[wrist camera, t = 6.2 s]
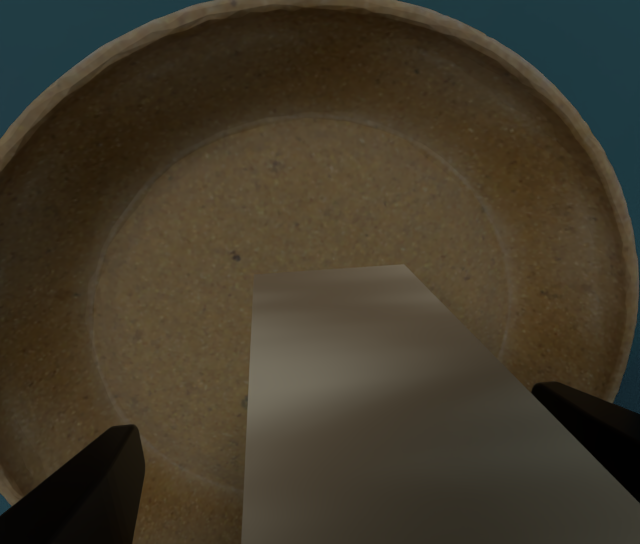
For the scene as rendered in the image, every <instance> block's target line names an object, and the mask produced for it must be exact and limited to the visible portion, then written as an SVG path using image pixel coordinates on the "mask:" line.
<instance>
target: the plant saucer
mask: <svg viewBox="0 0 640 544" xmlns="http://www.w3.org/2000/svg"><path fill="white" fill-rule="evenodd" d="M401 264H404V265H405V266H406V267H407V268H408V269H409V270H410V271H411V272H412V273H413V274H414V275H415V276H416V277H417V278H418V279H419V280H420V281H421V282H422V283H423V284H424V285H425V286H426V287H427V288H428V289H429V290H430V291H431V292H432V293H433V294H434V295H435V296H436V297H437V298H438V299H439V300H440V301H441V302H442V303H443V304H444V305H445V306H446V307H447V308H448V309H449V310H450V311H451V312H452V313H453V314H454V315H455V316H456V317H457V319H458V320H459V321H460V322H461V323H462V324H463V325H464V326H465V327H466V328H467V329H468V330H469V331H470V332H471V333H472V334H473V335H474V336H475V337H476V338H477V339H478V340H479V341H480V342H481V343H482V344H483V345H484V346H485V347H486V348H487V349H488V350H489V351H490V352H491V353H492V354H493V355H494V356H495V357H496V358H497V359H498V360H499V361H500V362H501V363H502V364H503V365H504V366H505V367H506V368H507V369H508V370H509V371H510V372H511V373H512V374H513V375H514V376H515V377H516V378H517V379H518V380H519V381H520V382H521V383H522V384H523V385H524V386H525V387H526V389H527V390H528V391H529V392H530V393H531V391H532V387H533V386H534V385H535V384H536V383H539V382H549V381H557V382H560V383H562V384H565V385H567V386H570V387H572V388H575V389H577V390H580V391H582V392H585V393H588V394H590V395H593V396H595V397H598V398H600V399H603V400H605V401H608V402H610V403H613V402H614V399H615V396H616V394H617V393H618V391H619V387H620V384H621V380H622V377H623V374H624V372H625V369H626V366H627V362H628V358H629V354H630V350H631V346H632V341H633V338H634V330H635V326H636V323H637V313H638V299H639V273H638V257H637V254H636V249H635V240H634V233H633V228H632V223H631V218H630V216H629V214H628V209H627V204H626V201H625V198H624V196H623V192H622V188H621V186H620V183H619V181H618V179H617V177H616V174H615V172H614V169H613V167H612V165H611V164H610V162H609V160H608V159H607V156H606V154H605V152H604V150H603V148H602V147H601V145H600V143H599V142H598V140H597V139H596V138H595V137H594V135H593V134H592V132H591V130H590V128H589V126H588V124H587V123H586V122H585V121H584V120H583V119H582V118H581V116H580V114H579V113H578V111H577V110H576V109H575V108H574V106H573V105H572V104H571V103H570V102H569V101H568V100H567V99H566V98H565V97H564V96H563V94H562V93H561V92H560V91H559V90H558V89H557V88H556V86H555V85H554V84H552V83H551V82H550V81H549V80H548V79H547V78H546V77H545V76H544V75H543V74H542V73H541V72H539V71H538V70H537V69H536V68H535V67H534V66H532V65H531V64H530V63H529V62H527V61H526V60H525V59H524V58H522V57H521V56H519V55H518V54H517V53H515V52H514V51H512V50H511V49H509V48H507V47H506V46H504V45H502V44H500V43H499V42H498V41H496V40H495V39H493V38H490V37H487V36H486V35H485V34H484V33H482V32H480V31H478V30H476V29H474V28H472V27H470V26H468V25H466V24H464V23H462V22H460V21H458V20H456V19H453V18H450V17H449V16H444V15H442V14H440V13H438V12H436V11H434V10H430V9H427V8H424V7H421V6H417V5H413V4H409V3H405V2H400V1H397V0H214V1H209V2H205V3H200V4H196V5H193V6H190V7H187V8H185V9H182V10H179V11H177V12H174V13H171V14H169V15H167V16H164V17H161V18H158V19H155V20H152V21H150V22H148V23H146V24H144V25H142V26H140V27H138V28H136V29H134V30H132V31H130V32H129V33H127V34H125V35H123V36H121V37H119V38H117V39H115V40H113V41H111V42H109V43H107V44H105V45H103V46H102V47H100V48H99V49H97V50H96V51H94V52H93V53H91V54H90V55H89V56H87V57H86V58H85V59H83V60H82V61H81V62H79V63H78V64H77V65H75V66H74V67H73V68H71V69H70V70H69V71H67V72H66V73H65V74H64V75H62V76H61V77H60V78H59V79H58V80H56V81H55V82H54V83H53V84H52V85H51V86H49V87H48V88H47V89H46V90H45V91H44V92H42V93H41V94H40V95H39V96H38V97H37V98H36V99H35V100H34V101H33V102H32V103H31V104H30V105H29V106H28V107H27V108H26V109H25V110H24V111H23V112H22V114H21V115H20V116H19V117H18V118H17V119H16V120H15V121H14V123H13V124H12V125H11V126H10V127H9V128H8V130H7V132H6V133H5V134H4V135H3V137H2V138H1V139H0V493H1V494H2V495H3V496H4V497H5V499H6V500H7V501H8V502H9V503H10V505H11V506H13V505H14V504H15V503H17V502H18V501H19V500H20V499H22V498H23V497H24V496H25V495H27V494H28V493H29V492H30V491H32V490H33V489H34V488H35V487H37V486H38V485H39V484H40V483H41V482H43V481H44V480H45V479H46V478H48V477H49V476H50V475H51V474H53V473H54V472H55V471H56V470H58V469H59V468H60V467H61V466H63V465H64V464H65V463H66V462H68V461H69V460H70V459H71V458H72V457H74V456H75V455H76V454H77V453H79V452H80V451H81V450H82V449H84V448H85V447H86V446H87V445H89V444H90V443H91V442H92V441H94V440H95V439H96V438H97V437H99V436H100V435H101V434H102V433H104V432H105V431H106V430H107V429H109V428H110V427H112V426H117V425H127V424H134V425H136V426H137V427H138V429H139V433H140V438H141V443H142V448H143V453H144V458H145V477H144V482H143V487H142V493H141V498H140V504H139V509H138V515H137V520H136V526H135V531H134V537H133V542H132V544H241V537H242V516H243V495H244V473H245V452H246V431H247V409H248V388H249V367H250V345H251V324H252V303H253V282H254V274H268V273H282V272H297V271H312V270H327V269H342V268H357V267H372V266H387V265H401Z"/></svg>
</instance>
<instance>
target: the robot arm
mask: <svg viewBox="0 0 640 544" xmlns="http://www.w3.org/2000/svg"><path fill="white" fill-rule="evenodd" d="M531 394H532V395H533V396H534V397H535V398H536V399H537V400H538V401H539V402H540V403H541V404H542V405H543V406H544V407H545V408H546V409H547V410H548V411H549V412H550V413H551V414H552V415H553V416H554V417H555V418H556V419H557V420H558V421H559V422H560V423H561V424H562V425H563V426H564V427H565V428H566V429H567V430H568V431H569V432H570V433H571V434H572V435H573V436H574V437H575V438H576V439H577V440H578V441H579V442H580V443H581V444H582V445H583V446H584V447H585V448H586V449H587V450H588V451H589V452H590V453H591V454H592V455H593V456H594V457H595V459H596V460H597V461H598V462H599V463H600V464H601V465H602V466H603V467H604V468H605V469H606V470H607V471H608V472H609V473H610V474H611V475H612V476H613V477H614V478H615V479H616V480H617V481H618V482H619V483H620V484H621V485H622V486H623V487H624V488H625V489H626V490H627V491H628V492H629V493H630V494H631V495H632V496H633V497H634V498H635V499H636V500H637V501H638V502H639V503H640V414H638V413H635V412H633V411H630V410H628V409H625V408H623V407H620V406H618V405H615V404H613V403H610V402H608V401H605V400H603V399H600V398H598V397H595V396H593V395H590V394H588V393H585V392H582V391H580V390H577V389H575V388H572V387H570V386H567V385H565V384H562V383H560V382H557V381H549V382H539V383H536V384H535V385H534V386H533V387H532V391H531ZM144 477H145V458H144V453H143V448H142V443H141V438H140V433H139V429H138V427H137V426H136V425H134V424H127V425H117V426H112V427H110V428H109V429H107V430H106V431H105V432H104V433H102V434H101V435H100V436H99V437H97V438H96V439H95V440H94V441H92V442H91V443H90V444H89V445H87V446H86V447H85V448H84V449H82V450H81V451H80V452H79V453H77V454H76V455H75V456H74V457H72V458H71V459H70V460H69V461H68V462H66V463H65V464H64V465H63V466H61V467H60V468H59V469H58V470H56V471H55V472H54V473H53V474H51V475H50V476H49V477H48V478H46V479H45V480H44V481H43V482H41V483H40V484H39V485H38V486H37V487H35V488H34V489H33V490H32V491H30V492H29V493H28V494H27V495H25V496H24V497H23V498H22V499H20V500H19V501H18V502H17V503H15V504H14V505H13V506H12V507H10V508H9V509H8V510H7V511H6V512H4V513H3V514H2V515H1V516H0V544H132V542H133V537H134V531H135V526H136V520H137V515H138V509H139V504H140V498H141V493H142V487H143V482H144Z"/></svg>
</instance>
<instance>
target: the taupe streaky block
mask: <svg viewBox="0 0 640 544" xmlns="http://www.w3.org/2000/svg"><path fill="white" fill-rule="evenodd" d="M241 544H640V503H639V502H638V501H637V500H636V499H635V498H634V497H633V496H632V495H631V494H630V493H629V492H628V491H627V490H626V489H625V488H624V487H623V486H622V485H621V484H620V483H619V482H618V481H617V480H616V479H615V478H614V477H613V476H612V475H611V474H610V473H609V472H608V471H607V470H606V469H605V468H604V467H603V466H602V465H601V464H600V463H599V462H598V461H597V460H596V459H595V457H594V456H593V455H592V454H591V453H590V452H589V451H588V450H587V449H586V448H585V447H584V446H583V445H582V444H581V443H580V442H579V441H578V440H577V439H576V438H575V437H574V436H573V435H572V434H571V433H570V432H569V431H568V430H567V429H566V428H565V427H564V426H563V425H562V424H561V423H560V422H559V421H558V420H557V419H556V418H555V417H554V416H553V415H552V414H551V413H550V412H549V411H548V410H547V409H546V408H545V407H544V406H543V405H542V404H541V403H540V402H539V401H538V400H537V399H536V398H535V397H534V396H533V395H532V394H531V393H530V392H529V391H528V390H527V389H526V387H525V386H524V385H523V384H522V383H521V382H520V381H519V380H518V379H517V378H516V377H515V376H514V375H513V374H512V373H511V372H510V371H509V370H508V369H507V368H506V367H505V366H504V365H503V364H502V363H501V362H500V361H499V360H498V359H497V358H496V357H495V356H494V355H493V354H492V353H491V352H490V351H489V350H488V349H487V348H486V347H485V346H484V345H483V344H482V343H481V342H480V341H479V340H478V339H477V338H476V337H475V336H474V335H473V334H472V333H471V332H470V331H469V330H468V329H467V328H466V327H465V326H464V325H463V324H462V323H461V322H460V321H459V320H458V319H457V317H456V316H455V315H454V314H453V313H452V312H451V311H450V310H449V309H448V308H447V307H446V306H445V305H444V304H443V303H442V302H441V301H440V300H439V299H438V298H437V297H436V296H435V295H434V294H433V293H432V292H431V291H430V290H429V289H428V288H427V287H426V286H425V285H424V284H423V283H422V282H421V281H420V280H419V279H418V278H417V277H416V276H415V275H414V274H413V273H412V272H411V271H410V270H409V269H408V268H407V267H406V266H405V265H404V264H401V265H387V266H372V267H357V268H342V269H327V270H312V271H297V272H282V273H268V274H254V282H253V303H252V324H251V345H250V367H249V388H248V409H247V431H246V452H245V473H244V495H243V516H242V537H241Z"/></svg>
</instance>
